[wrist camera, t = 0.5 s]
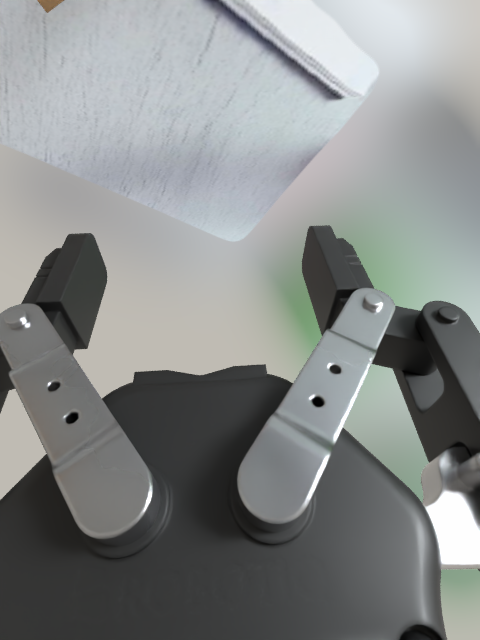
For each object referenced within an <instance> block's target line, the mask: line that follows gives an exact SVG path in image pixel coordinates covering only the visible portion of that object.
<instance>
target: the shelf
mask: <svg viewBox="0 0 480 640" xmlns="http://www.w3.org/2000/svg"><path fill="white" fill-rule="evenodd" d="M63 1H64V0H38V2H39V3H40V4H41V6H42V7H43V8H44V10H45V11H46V12H47V13H48V12H49V11H51V10H52V9H53V8H55V7H56V6H57V5H59V4H60V3H61V2H63Z"/></svg>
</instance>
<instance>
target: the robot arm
mask: <svg viewBox="0 0 480 640" xmlns="http://www.w3.org/2000/svg"><path fill="white" fill-rule="evenodd" d="M40 268H41V269H40V270H39V271H38V273H37V275H36V276H37V277H36V278H35V279H34V281H33V282H32V285H31V286H30V288H29V290H28V292H27V294H26V296H25V298H24V300H23V302H22V303H21V304H19V305H16V306H13V307H10V308H8V309H7V310H5V311H3V312H2V313H1V314H0V413H1V410H2V407H3V405H4V402H5V399H6V397H7V394H8V391H9V390H12V389H16V391H17V393H18V395H19V397H20V399H21V401H22V403H23V405H24V408H25V410H26V412H27V414H28V416H29V418H30V420H31V422H32V424H33V426H34V428H35V430H36V432H37V434H38V436H39V439H40V441H41V443H42V445H43V447H44V449H45V451H46V453H47V454H46V455H45V456H44V457H43V458H42V459H41V460H40V461H39V462H38V463H37V464H36V465H35V466H34V467H33V468H32V469H31V470H30V471H29V472H28V473H27V474H26V475H25V476H24V477H23V478H22V479H21V480H20V481H19V482H18V483H17V484H16V485H15V486H14V487H13V488H12V489H11V490H10V491H9V492H8V493H7V494H6V495H5V496H4V497H3V498H2V499H1V500H0V640H447V637H446V633H445V628H444V622H443V616H442V608H441V596H440V579H441V569H478V570H479V571H480V333H479V331H478V330H477V328H476V327H475V325H474V324H473V322H472V321H471V319H470V317H469V316H468V315H467V314H466V313H465V312H464V311H463V310H462V309H461V308H459V307H457V306H455V305H453V304H451V303H448V302H443V301H432V302H429V303H427V304H426V305H425V306H424V307H423V309H422V310H421V311H418V310H413V309H407V308H403V307H398V306H395V304H394V302H393V300H392V299H391V298H390V297H389V296H388V295H387V294H385V293H384V292H382V291H380V290H377V289H374V287H373V285H372V283H371V281H370V279H369V278H368V275H367V273H366V271H365V269H364V267H363V265H361V262H360V260H359V258H358V257H357V254H356V252H355V250H354V248H353V246H352V245H351V244H349V243H348V242H347V241H346V240H344V239H343V238H338V239H336V237H335V234H334V232H333V230H332V228H331V226H310V227H309V229H308V232H307V237H306V243H305V248H304V253H303V259H302V273H303V277H304V280H305V283H306V286H307V289H308V293H309V296H310V299H311V302H312V305H313V309H314V312H315V315H316V318H317V321H318V325H319V328H320V331H321V334H322V338H321V339H320V341H319V343H318V344H317V346H316V347H315V349H314V350H313V352H312V354H311V355H310V357H309V359H308V360H307V362H306V364H305V365H304V367H303V368H302V370H301V372H300V373H299V375H298V377H297V378H296V380H295V381H294V383H291V382H289V381H288V380H286V379H283V378H281V377H277V376H274V375H270V374H267V371H266V365H248V366H233V367H230V368H226V369H223V370H220V371H216V372H212V373H209V374H205V375H193V374H187V373H181V372H175V371H169V370H162V371H146V372H135V374H134V380H133V383H129V384H126V385H124V386H122V387H119V388H118V389H116V390H114V391H112V392H111V393H109V394H108V395H106V396H105V397H104V398H102V399H101V397H100V396H99V394H98V393H97V391H96V390H95V388H94V387H93V385H92V384H91V382H90V381H89V379H88V378H87V376H86V375H85V373H84V372H83V370H82V369H81V367H80V366H79V364H78V363H77V361H76V360H75V358H74V357H73V353H74V350H75V349H87V348H88V344H89V341H90V338H91V334H92V331H93V328H94V324H95V321H96V317H97V314H98V311H99V307H100V304H101V300H102V297H103V294H104V290H105V287H106V283H107V270H106V267H105V264H104V261H103V259H102V256H101V253H100V251H99V248H98V246H97V243H96V240H95V238H94V236H93V235H92V234H91V233H84V234H69V235H68V236H67V238H66V240H65V242H64V244H63V246H62V248H56V249H55V250H54V251H52V252H51V253H50V254H49V255H48V256H47V257H46V258H45V260H44V262H43V263H42V265H41V267H40ZM371 364H375V365H380V366H384V367H388V368H393V371H394V373H395V376H396V379H397V381H398V384H399V386H400V389H401V391H402V394H403V396H404V399H405V402H406V404H407V407H408V410H409V412H410V415H411V417H412V420H413V422H414V425H415V428H416V430H417V433H418V435H419V438H420V441H421V443H422V446H423V448H424V451H425V453H426V456H427V459H428V461H429V464H427V465H426V466H425V468H424V469H423V471H422V474H421V483H422V488H423V494H424V499H423V503H422V502H421V501H420V500H419V498H418V497H417V496H416V495H415V494H414V493H413V492H412V491H411V490H410V488H408V487H407V486H406V485H405V484H404V483H403V482H402V481H401V480H400V479H399V478H398V477H396V476H395V475H394V474H393V473H392V472H391V471H390V470H389V469H388V468H387V467H386V466H384V465H383V464H382V463H381V462H380V461H379V460H378V459H377V458H376V457H375V456H374V455H373V454H371V453H370V452H369V451H368V450H367V449H366V448H365V447H364V446H363V445H362V444H360V443H359V442H358V441H357V440H356V439H355V438H354V437H353V436H352V435H351V434H350V433H349V432H347V431H346V430H345V429H344V428H343V425H344V423H345V421H346V419H347V416H348V414H349V412H350V410H351V408H352V406H353V403H354V401H355V399H356V397H357V395H358V392H359V390H360V388H361V386H362V384H363V381H364V379H365V377H366V375H367V373H368V370H369V368H370V366H371Z"/></svg>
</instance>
